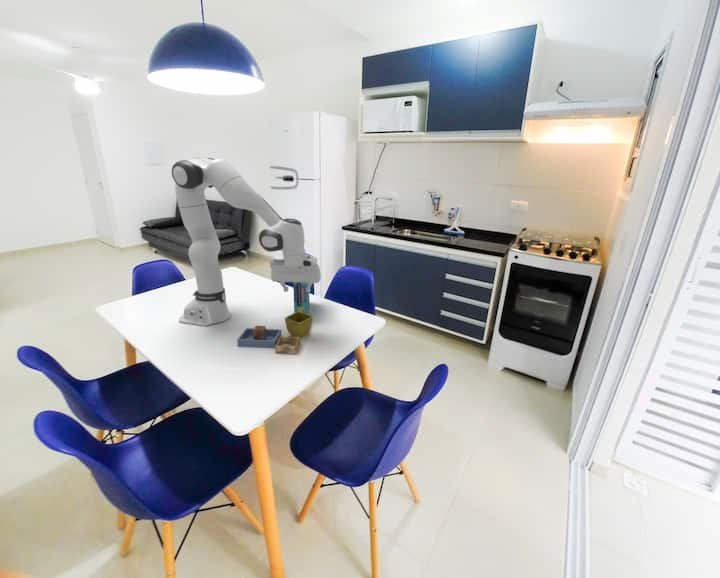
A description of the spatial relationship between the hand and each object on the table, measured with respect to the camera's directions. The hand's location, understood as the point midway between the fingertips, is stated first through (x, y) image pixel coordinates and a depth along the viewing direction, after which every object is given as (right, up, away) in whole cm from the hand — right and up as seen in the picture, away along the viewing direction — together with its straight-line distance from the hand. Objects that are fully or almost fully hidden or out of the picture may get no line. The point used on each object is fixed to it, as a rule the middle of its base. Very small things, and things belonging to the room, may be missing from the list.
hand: (297, 291), depth 138 cm
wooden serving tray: (-3, -23, -5) cm, 24 cm away
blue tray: (-15, -21, 0) cm, 26 cm away
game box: (-3, -10, +31) cm, 33 cm away
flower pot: (0, -19, +6) cm, 21 cm away
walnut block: (-15, -21, 0) cm, 26 cm away
